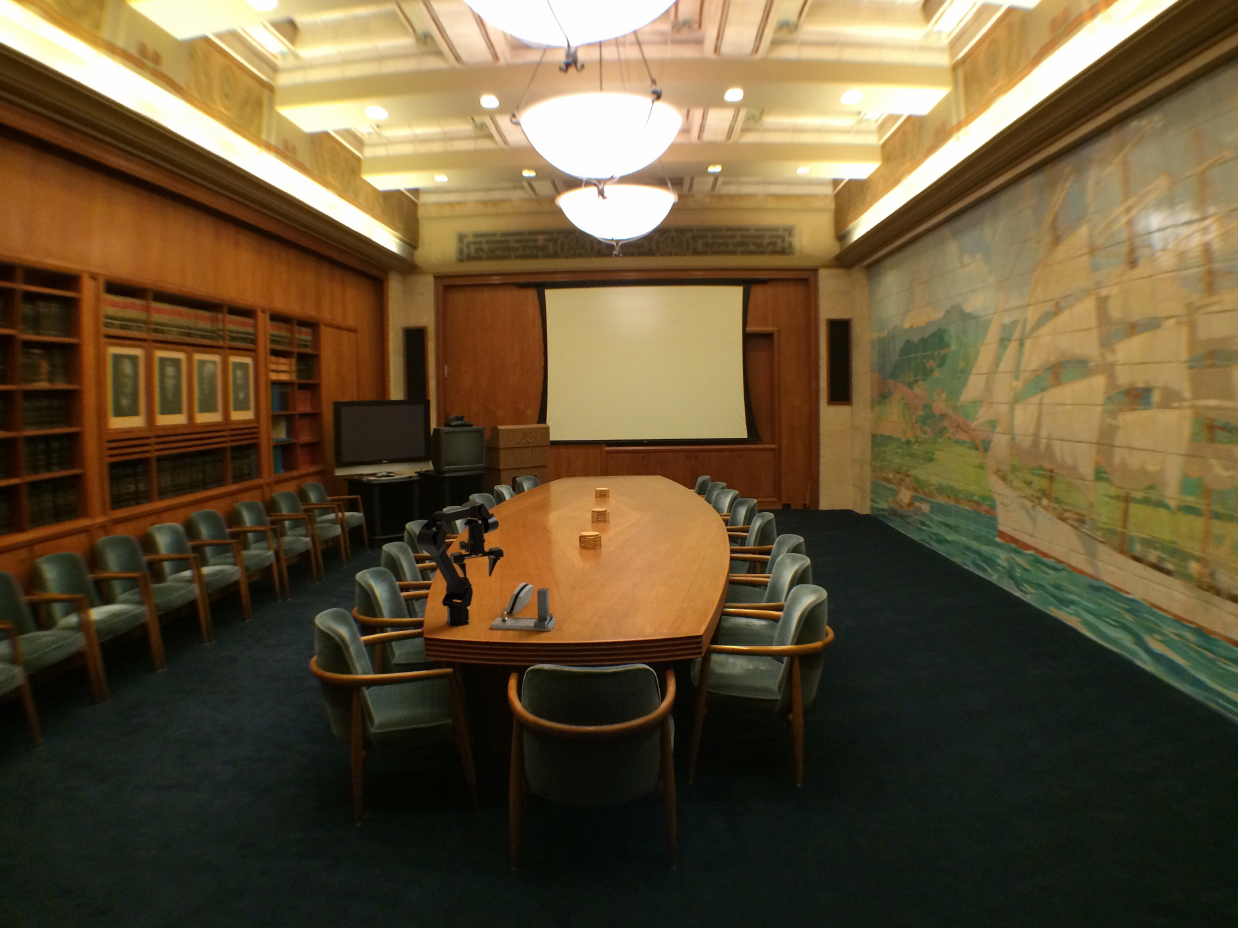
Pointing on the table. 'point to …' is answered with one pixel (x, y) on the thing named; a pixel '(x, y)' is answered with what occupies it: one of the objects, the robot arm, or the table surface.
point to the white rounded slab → (519, 598)
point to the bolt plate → (519, 623)
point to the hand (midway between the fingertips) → (477, 578)
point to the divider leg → (542, 608)
